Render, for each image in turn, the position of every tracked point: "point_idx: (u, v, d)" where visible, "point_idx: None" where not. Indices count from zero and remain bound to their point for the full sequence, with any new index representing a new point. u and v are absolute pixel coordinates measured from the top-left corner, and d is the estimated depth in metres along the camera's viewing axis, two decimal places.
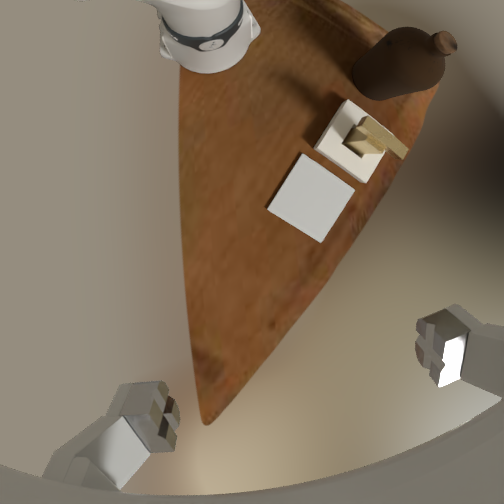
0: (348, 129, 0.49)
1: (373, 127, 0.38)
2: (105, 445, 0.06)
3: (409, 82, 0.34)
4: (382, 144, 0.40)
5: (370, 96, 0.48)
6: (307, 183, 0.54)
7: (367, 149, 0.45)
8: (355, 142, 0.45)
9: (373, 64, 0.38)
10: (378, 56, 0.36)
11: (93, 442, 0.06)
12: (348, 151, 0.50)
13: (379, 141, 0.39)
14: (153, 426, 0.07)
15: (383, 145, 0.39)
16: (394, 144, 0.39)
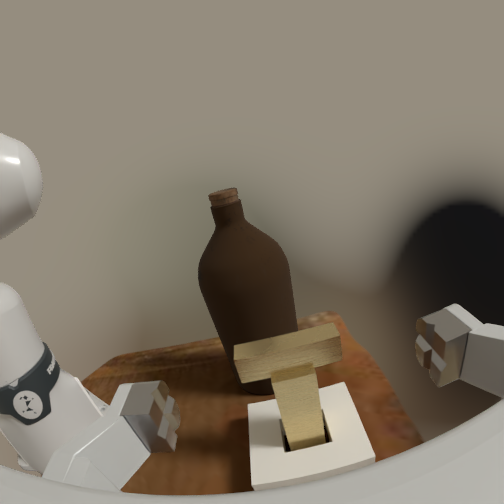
0: (277, 431, 0.27)
1: (254, 348, 0.22)
2: (105, 445, 0.06)
3: (251, 278, 0.31)
4: (293, 356, 0.22)
5: None
6: None
7: (306, 406, 0.23)
8: (284, 419, 0.23)
9: (221, 326, 0.34)
10: (211, 307, 0.33)
11: (93, 442, 0.06)
12: (304, 451, 0.23)
13: (283, 356, 0.22)
14: (153, 426, 0.07)
15: (294, 353, 0.22)
16: (306, 336, 0.22)
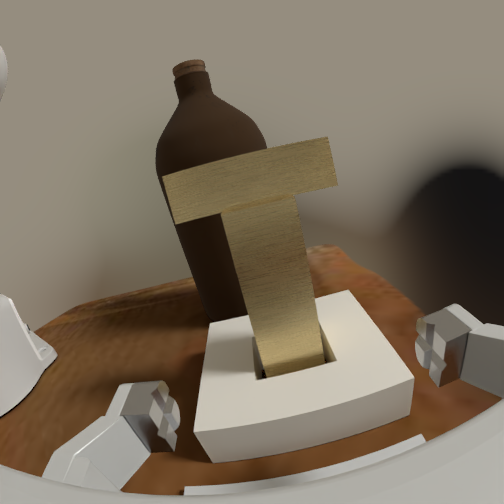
0: (247, 351, 0.19)
1: None
2: (105, 445, 0.06)
3: (213, 138, 0.23)
4: (255, 168, 0.14)
5: None
6: None
7: (285, 275, 0.15)
8: (250, 305, 0.15)
9: None
10: None
11: (93, 442, 0.06)
12: (288, 378, 0.15)
13: (240, 168, 0.14)
14: (153, 426, 0.07)
15: (257, 162, 0.14)
16: None
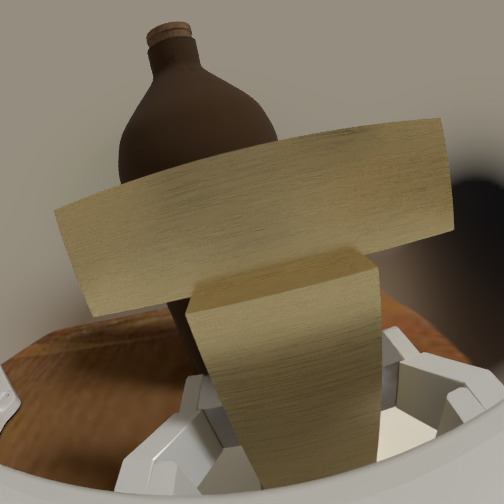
0: (251, 472, 0.10)
1: None
2: (184, 444, 0.06)
3: (197, 127, 0.14)
4: (277, 186, 0.05)
5: None
6: None
7: (332, 419, 0.06)
8: (258, 461, 0.06)
9: None
10: None
11: (173, 442, 0.06)
12: None
13: (235, 186, 0.05)
14: None
15: (281, 170, 0.05)
16: None
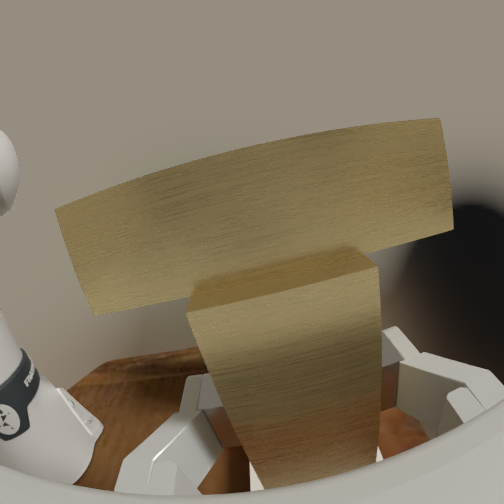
0: None
1: None
2: (184, 444, 0.06)
3: None
4: (277, 186, 0.05)
5: None
6: None
7: (332, 418, 0.06)
8: (258, 460, 0.06)
9: None
10: None
11: (173, 442, 0.06)
12: None
13: (235, 185, 0.05)
14: None
15: (281, 170, 0.05)
16: None
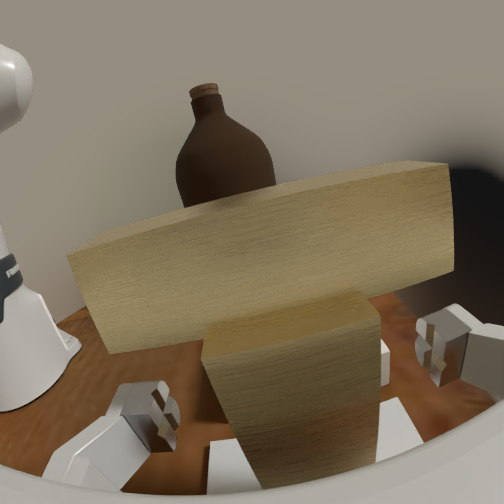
0: None
1: (145, 224, 0.06)
2: (105, 445, 0.06)
3: (228, 156, 0.27)
4: (287, 239, 0.05)
5: None
6: None
7: (333, 442, 0.06)
8: (264, 478, 0.07)
9: None
10: (186, 200, 0.30)
11: (93, 442, 0.06)
12: None
13: (246, 239, 0.05)
14: (154, 426, 0.07)
15: (291, 223, 0.05)
16: (332, 178, 0.06)
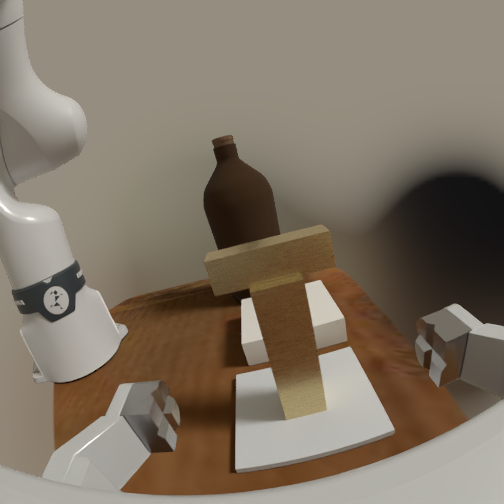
0: None
1: (229, 251, 0.20)
2: (105, 445, 0.06)
3: (242, 193, 0.41)
4: (275, 256, 0.19)
5: None
6: (274, 393, 0.26)
7: (295, 331, 0.20)
8: (269, 352, 0.20)
9: (220, 237, 0.44)
10: (212, 222, 0.44)
11: (93, 442, 0.06)
12: None
13: (263, 256, 0.19)
14: (153, 426, 0.07)
15: (276, 252, 0.19)
16: (290, 236, 0.20)
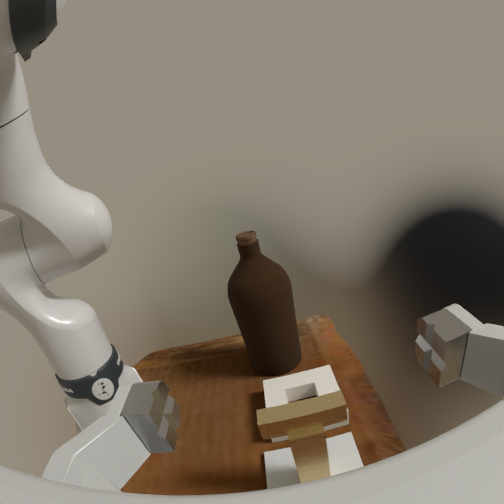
0: (284, 396, 0.42)
1: (274, 414, 0.25)
2: (105, 445, 0.06)
3: (266, 294, 0.46)
4: (307, 420, 0.24)
5: (283, 367, 0.50)
6: (294, 469, 0.31)
7: (315, 454, 0.25)
8: (297, 463, 0.25)
9: (244, 326, 0.49)
10: (237, 313, 0.49)
11: (93, 442, 0.06)
12: None
13: (299, 420, 0.24)
14: (153, 427, 0.07)
15: (308, 418, 0.24)
16: (318, 403, 0.25)
